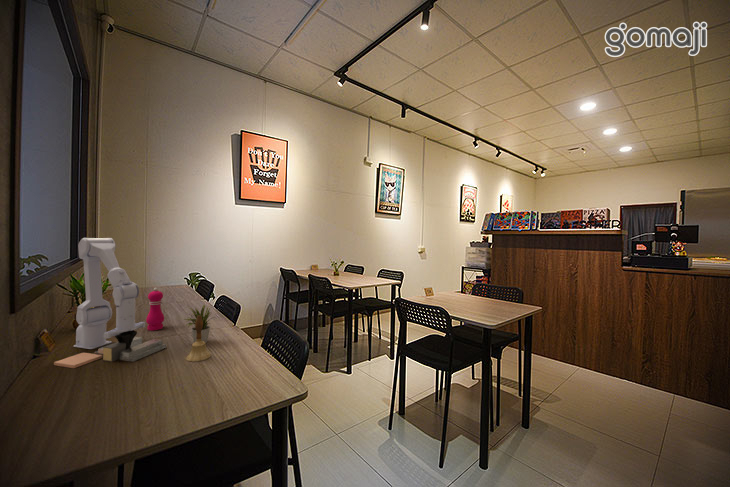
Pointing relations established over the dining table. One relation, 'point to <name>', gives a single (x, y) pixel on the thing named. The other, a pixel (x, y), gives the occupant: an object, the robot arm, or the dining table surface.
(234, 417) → the dining table surface
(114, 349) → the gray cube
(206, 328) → the house plant
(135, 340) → the parallel gray bars
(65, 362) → the pad
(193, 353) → the hand bell
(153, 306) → the pepper mill
